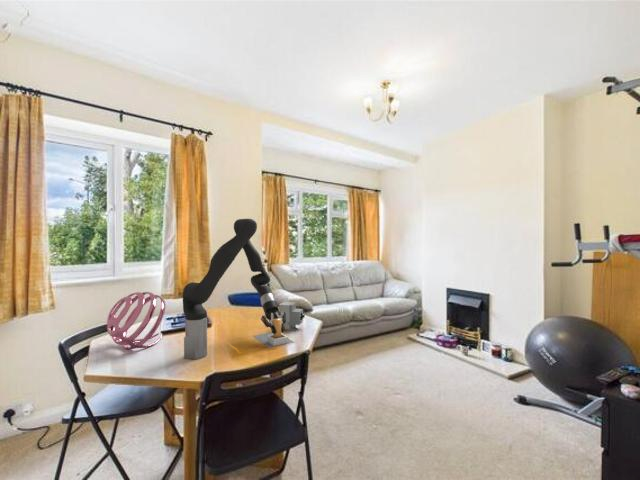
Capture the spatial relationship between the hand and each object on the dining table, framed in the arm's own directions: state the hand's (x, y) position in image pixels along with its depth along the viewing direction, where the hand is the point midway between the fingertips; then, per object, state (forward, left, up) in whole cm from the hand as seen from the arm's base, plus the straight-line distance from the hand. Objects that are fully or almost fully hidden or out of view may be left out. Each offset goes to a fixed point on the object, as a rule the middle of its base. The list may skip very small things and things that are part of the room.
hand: (279, 332), depth 154 cm
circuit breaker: (+27, +3, -7) cm, 28 cm away
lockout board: (+5, +6, -6) cm, 10 cm away
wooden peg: (+1, +1, -4) cm, 4 cm away
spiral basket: (-19, +68, -7) cm, 71 cm away
